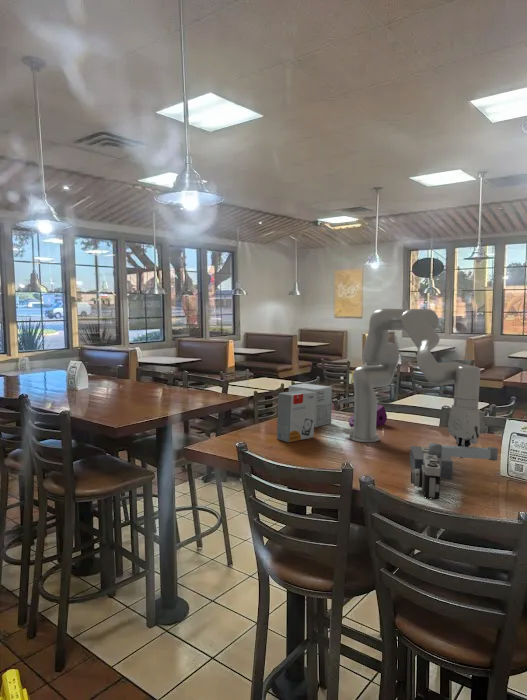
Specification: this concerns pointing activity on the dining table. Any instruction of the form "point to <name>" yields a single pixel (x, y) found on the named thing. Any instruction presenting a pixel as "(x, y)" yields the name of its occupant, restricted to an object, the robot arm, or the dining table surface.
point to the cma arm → (463, 451)
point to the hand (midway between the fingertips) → (462, 456)
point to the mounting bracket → (379, 420)
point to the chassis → (419, 453)
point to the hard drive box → (295, 415)
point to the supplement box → (318, 401)
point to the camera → (428, 477)
